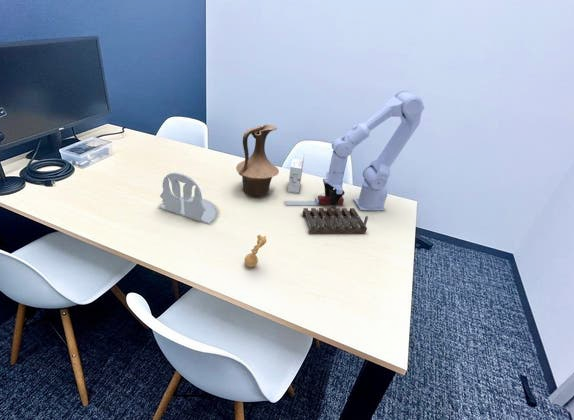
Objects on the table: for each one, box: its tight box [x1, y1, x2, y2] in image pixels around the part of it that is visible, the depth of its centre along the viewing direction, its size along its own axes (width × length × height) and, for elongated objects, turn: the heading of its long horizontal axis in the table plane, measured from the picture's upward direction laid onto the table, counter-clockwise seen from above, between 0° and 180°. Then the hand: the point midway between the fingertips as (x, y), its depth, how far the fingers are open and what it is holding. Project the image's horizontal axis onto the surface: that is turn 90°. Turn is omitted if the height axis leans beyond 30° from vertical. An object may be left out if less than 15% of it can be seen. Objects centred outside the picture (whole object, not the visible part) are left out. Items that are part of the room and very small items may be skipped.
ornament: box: [158, 172, 217, 225], centre depth 121 cm, size 22×13×17 cm, turn 65°
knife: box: [285, 195, 345, 207], centre depth 132 cm, size 23×3×3 cm, turn 95°
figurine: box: [244, 234, 267, 268], centre depth 96 cm, size 8×6×12 cm
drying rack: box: [301, 207, 369, 235], centre depth 119 cm, size 20×13×7 cm, turn 95°
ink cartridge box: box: [287, 154, 305, 194], centre depth 139 cm, size 9×5×15 cm, turn 168°
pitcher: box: [235, 124, 280, 198], centre depth 131 cm, size 18×17×28 cm
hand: (330, 201), depth 132 cm, fingers open, 6 cm apart
